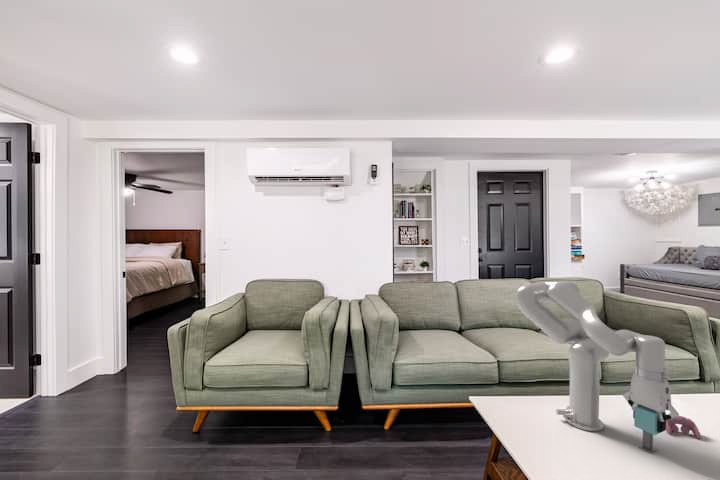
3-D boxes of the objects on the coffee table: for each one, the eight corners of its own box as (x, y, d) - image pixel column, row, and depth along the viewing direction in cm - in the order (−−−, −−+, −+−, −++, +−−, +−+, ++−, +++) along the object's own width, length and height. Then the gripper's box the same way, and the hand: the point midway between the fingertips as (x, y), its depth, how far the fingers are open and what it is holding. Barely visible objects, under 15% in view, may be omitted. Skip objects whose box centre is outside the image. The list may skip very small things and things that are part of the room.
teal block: (655, 435, 110) (655, 415, 110) (634, 426, 116) (634, 407, 116) (664, 430, 113) (664, 411, 113) (643, 422, 118) (643, 403, 118)
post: (651, 453, 112) (651, 432, 112) (638, 447, 115) (638, 427, 115) (656, 450, 114) (657, 430, 114) (644, 444, 117) (644, 424, 117)
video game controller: (695, 439, 123) (691, 417, 126) (703, 439, 119) (698, 417, 122) (662, 433, 126) (658, 413, 129) (668, 434, 122) (664, 413, 125)
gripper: (688, 381, 108) (687, 437, 108) (626, 362, 123) (626, 412, 124) (676, 385, 105) (676, 443, 105) (614, 366, 120) (614, 416, 120)
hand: (649, 426), depth 114 cm, fingers closed on teal block, 5 cm apart
